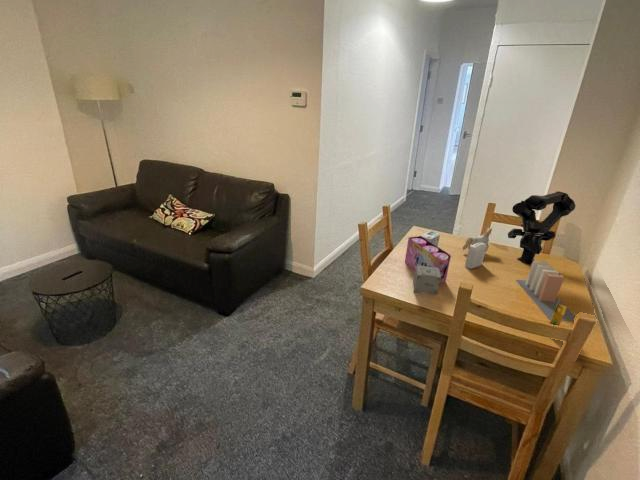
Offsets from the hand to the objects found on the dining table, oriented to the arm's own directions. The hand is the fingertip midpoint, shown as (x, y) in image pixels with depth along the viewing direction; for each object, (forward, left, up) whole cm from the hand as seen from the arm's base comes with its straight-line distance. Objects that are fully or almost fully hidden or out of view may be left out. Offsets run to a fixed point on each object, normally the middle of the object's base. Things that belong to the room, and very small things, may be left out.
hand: (533, 251), depth 155 cm
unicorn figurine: (-3, -31, -14) cm, 34 cm away
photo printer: (+13, -19, -14) cm, 27 cm away
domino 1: (+4, +6, -13) cm, 15 cm away
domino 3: (+9, +13, -13) cm, 20 cm away
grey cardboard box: (+52, -14, -14) cm, 56 cm away
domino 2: (+7, +10, -13) cm, 18 cm away
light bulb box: (+24, -40, -14) cm, 49 cm away
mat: (+11, +15, -14) cm, 23 cm away
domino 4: (+11, +16, -13) cm, 24 cm away
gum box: (+40, -26, -14) cm, 50 cm away
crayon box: (+30, +28, -14) cm, 43 cm away
